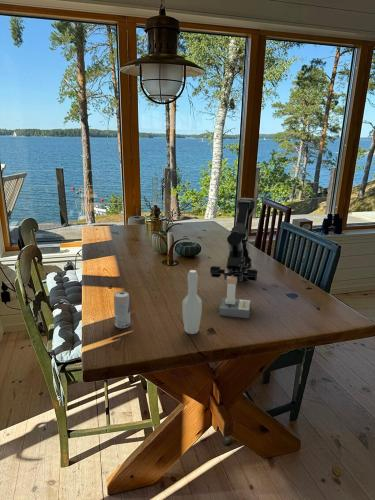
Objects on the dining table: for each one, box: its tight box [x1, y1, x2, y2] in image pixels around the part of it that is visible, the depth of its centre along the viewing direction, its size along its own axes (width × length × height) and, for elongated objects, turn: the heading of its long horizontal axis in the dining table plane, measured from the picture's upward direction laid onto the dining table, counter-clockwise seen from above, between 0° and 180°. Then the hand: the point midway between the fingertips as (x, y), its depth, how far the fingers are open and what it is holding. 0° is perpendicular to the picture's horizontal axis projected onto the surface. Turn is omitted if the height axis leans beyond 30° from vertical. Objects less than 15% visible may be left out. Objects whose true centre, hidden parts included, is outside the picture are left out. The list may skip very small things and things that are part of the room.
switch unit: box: [218, 297, 252, 319], centre depth 140 cm, size 10×11×3 cm
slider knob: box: [225, 275, 237, 305], centre depth 139 cm, size 4×4×10 cm
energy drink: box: [113, 290, 131, 329], centre depth 126 cm, size 5×5×12 cm
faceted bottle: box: [181, 269, 203, 335], centre depth 122 cm, size 6×6×22 cm
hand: (231, 292), depth 141 cm, fingers closed, pressing on slider knob
